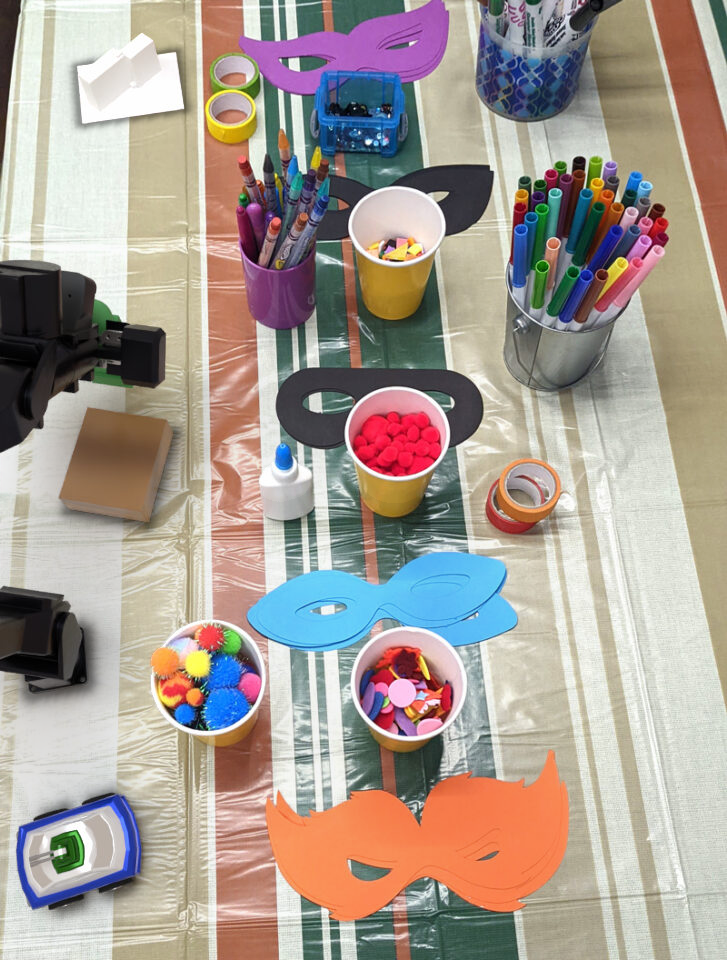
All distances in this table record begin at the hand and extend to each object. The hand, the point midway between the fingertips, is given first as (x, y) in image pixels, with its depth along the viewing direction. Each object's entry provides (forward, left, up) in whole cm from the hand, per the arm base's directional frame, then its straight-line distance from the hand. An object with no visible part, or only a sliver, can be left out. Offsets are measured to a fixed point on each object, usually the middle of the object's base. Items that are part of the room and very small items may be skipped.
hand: (106, 329), depth 101 cm
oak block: (-12, +3, -13) cm, 18 cm away
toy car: (-54, +9, -13) cm, 57 cm away
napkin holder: (+49, -4, -13) cm, 51 cm away
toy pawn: (-1, 0, -7) cm, 7 cm away
